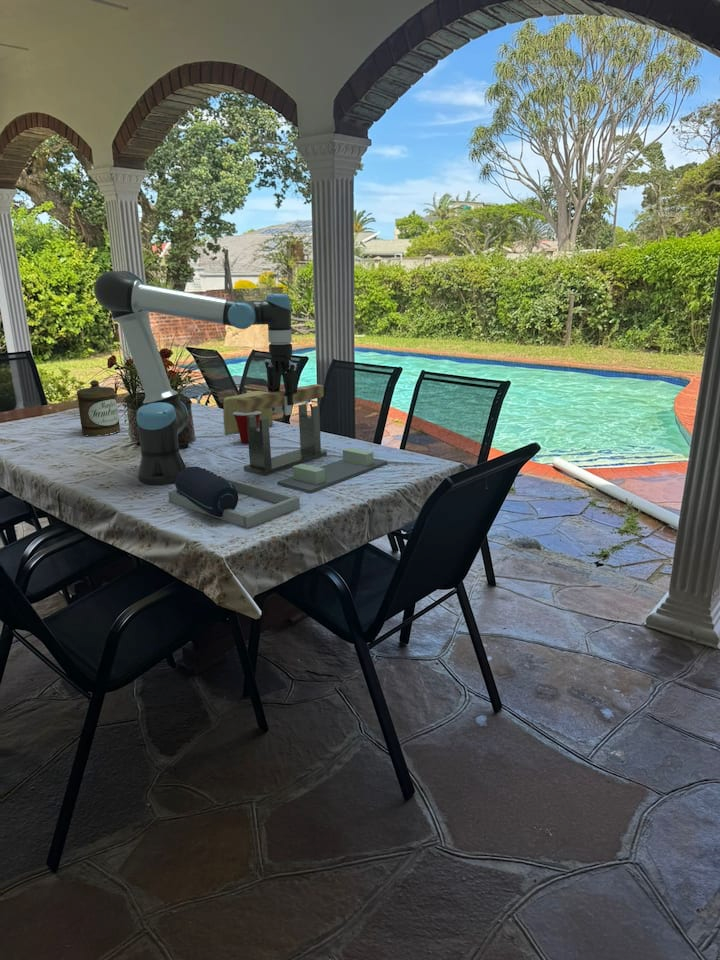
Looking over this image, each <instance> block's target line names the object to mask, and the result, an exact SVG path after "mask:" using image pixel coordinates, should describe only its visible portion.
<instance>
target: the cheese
mask: <svg viewBox="0 0 720 960" xmlns="http://www.w3.org/2000/svg"><path fill="white" fill-rule="evenodd" d="M267 393H270V391H262V390H255V391H252V392H246V393H241V394H238V395H237V394H236V395H232V396H227V397H224V398H223V408H222V409H223V412H222V413H223V414H222V415H223V416H222V417H223V428H224V429H223V430H224V434H225V435H232V434H231V433H233V434H237V433H236V432H238V433H239V431H238V427H237V423H236V419H235V416H234V415H233V413H234V412H238V408H237V399H241V398H246V397H251V396H257V395H262V394H267ZM259 411H260V412H261V414H260V417H259V419H263V418H269V428H270V427H272V426H273V423H274V422H273V408H269V409H264V410H259ZM258 428H260V426H259V424H258Z"/></svg>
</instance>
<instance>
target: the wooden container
mask: <svg viewBox="0 0 720 960" xmlns="http://www.w3.org/2000/svg"><path fill="white" fill-rule="evenodd" d="M99 384H100V383H99V381H98V380H94V379H93V380H91V381H90V382H89V385H90V387H86V388H85V387H84V388H81V389H79V390H77V391H76V397H77V403H78V409H79V419H80V425H81V433H82V435H83V436H84V435H88V436H97V435H105V434H110V433H114V432H117V431H119V430H120V431H121V427H120V426H121V425H120V419H119V410H118V405H117V397H116V390H115V388H114V387H110V386H109V387H108V386H100V385H99ZM88 436H87V437H88Z"/></svg>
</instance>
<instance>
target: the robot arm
mask: <svg viewBox="0 0 720 960" xmlns="http://www.w3.org/2000/svg"><path fill="white" fill-rule="evenodd" d="M93 293H94V297H95V298H96V301H97V302H98V304H100V305H101V307H103V308H104V309H107V310H109V311H110V313H111V314H110V315H111V316H112V319H113V320H114V321H115V322H117V323H119V325H120V326H121V329H122V334H123V335H124V338H125V341H126V343H127V347H128V349H129V353H130V355H131V358H132V361H133V364H134V367H135V369H136V372H137V375H138V378H139V381H140V383H141V386H142V389H143V393H144V394H145V397H144V400H143V401H142V403H143V405H142V406H140V407H139V408H138V409H137V410H136V417H135V418H136V424H137V431H138V440H139V444H140V445H139V447H140V453H141V458H140V461H139V468H138V472H137V475H138V481H139V482H140V483H141V484H145V485H168V484H172V483H173V484H175V481H176V477H177V475H178V474H179V472H180V471H181V470H183V469H185V468H187V466H186V465H185V462H184V460H183V458H182V455H181V453H180V445H179V434H180V433H182V432H183V431H184V429H185V428H186V426H187V424H188V420H189V411H188V409H187V407H186V405H185V404H184V403H183V401H181V399H180V398H181V397H180V395H179V393H178V391H176V390H174V389H173V388H172V387H171V383H170V380H169V377H168V374H167V372H166V369H165V365H164V363H163V360H162V357H161V354H160V351H159V348H158V345H157V342H156V339H155V337H154V334H153V333H154V332H153V330H152V328H151V325H150V322H149V319H148V316H149V313H155V314H156V313H157V314H161V315H167V316H173V317H178V318H184V319H191V320H196V321H200V322H201V321H203V322H207V323H213V324H220V325H224V326H225V325H226V326H228V327H234V328H236V329H240V330H245V329H248V328H250V327H252V325H253V326H255V325H257V326H258V325H259V326H260V325H261V326H262V325H264V326H265V325H267V335H268V338H267V339H268V342H269V345H268V352H269V353H268V355H270V356H271V357H270V360H269V361H265V362H264V365H265V368H266V379H267V390H268V391H267V392H270V393H272V392H277V391H281V390H280V389H281V380H283V387H284V390H285V393H286V394H285V396H284V405H283V406H284V407H283V406H278V407H274V414H276V415H278V414H282V413H283V408H284V416H289V415H293V404H294V403H293V394H296V393H297V388H298V369H299V364H298V363H294V362H293V360H292V355H293V344H292V341H293V340H292V337H293V336H292V309H291V298H290V295H288V294H287V293H269V294H266V299H265V300H240V299H239V300H232V299H227V298H222V297H221V298H220V297H216V296H210V295H205V294H199V293H195V292H194V293H193V292H189V291H188V292H187V291H182V290H177V289H172V288H167V287H161V286H156V285H150V284H146V283H145V282H144V281H143V279H141V277H140V276H139V275H137V274H135V273H133V272H131V271H129V270H110V271H105V272H103V273H102V274H100V275H98V277H97V278H96V280H95V282H94V285H93Z"/></svg>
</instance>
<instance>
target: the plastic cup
mask: <svg viewBox="0 0 720 960" xmlns="http://www.w3.org/2000/svg"><path fill="white" fill-rule="evenodd" d="M260 414H261V412H260V411H255V412H250V413H242V412H234V413H233V415H234V416H235V419H236V423H237V427H238V431H239V432H238V435H239V437H240V441H241V443H242V444H245V443H248V431H247V417H249V416H256V424H257V428H258V424H259V417H260Z"/></svg>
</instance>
